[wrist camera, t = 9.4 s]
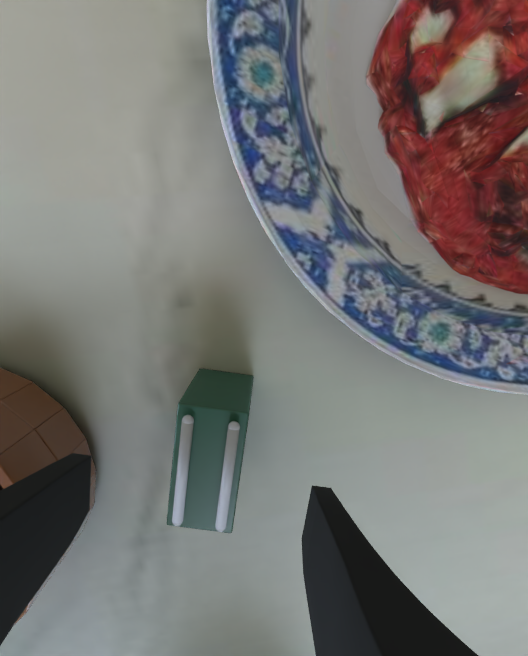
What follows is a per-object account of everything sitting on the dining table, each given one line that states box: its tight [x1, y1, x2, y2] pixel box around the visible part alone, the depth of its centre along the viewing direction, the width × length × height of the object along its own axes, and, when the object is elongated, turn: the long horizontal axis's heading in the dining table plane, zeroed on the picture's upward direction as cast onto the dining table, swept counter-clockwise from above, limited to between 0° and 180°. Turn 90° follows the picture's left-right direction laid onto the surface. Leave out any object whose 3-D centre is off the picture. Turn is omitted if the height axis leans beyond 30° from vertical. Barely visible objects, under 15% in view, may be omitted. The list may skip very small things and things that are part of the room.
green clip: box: [167, 369, 254, 533], centre depth 14 cm, size 5×2×4 cm, turn 172°
